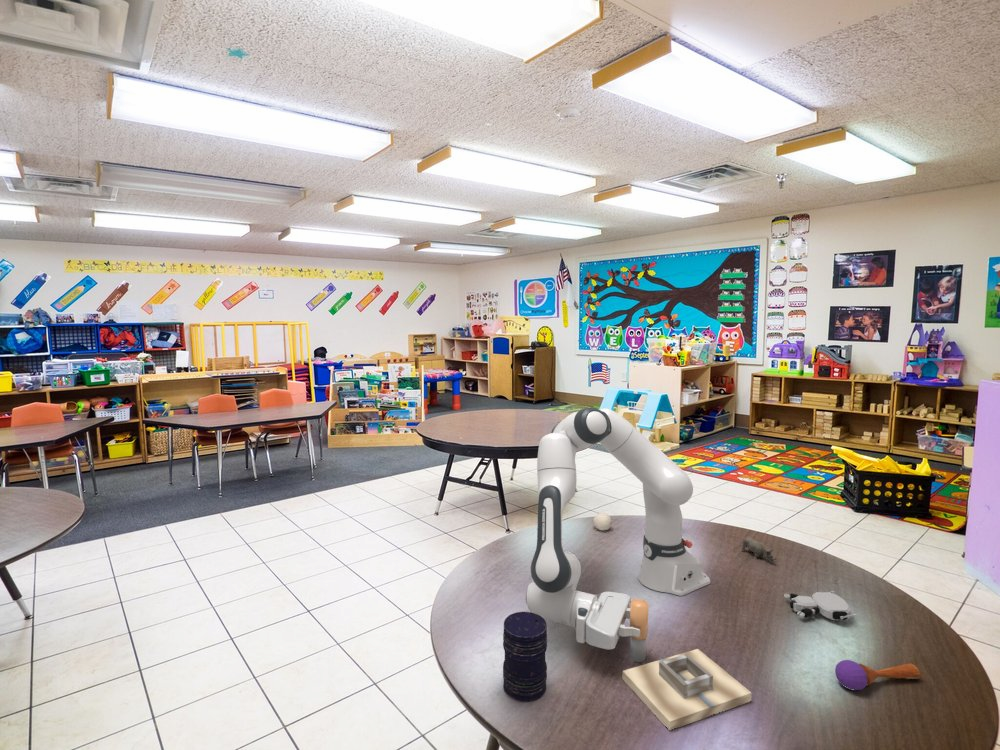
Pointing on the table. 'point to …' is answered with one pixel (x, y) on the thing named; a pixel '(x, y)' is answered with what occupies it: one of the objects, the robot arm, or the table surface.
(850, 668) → the purple maraca
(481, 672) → the table surface
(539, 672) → the dark blue cylinder
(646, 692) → the plywood panel
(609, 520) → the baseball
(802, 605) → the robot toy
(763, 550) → the rhino figurine
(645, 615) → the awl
